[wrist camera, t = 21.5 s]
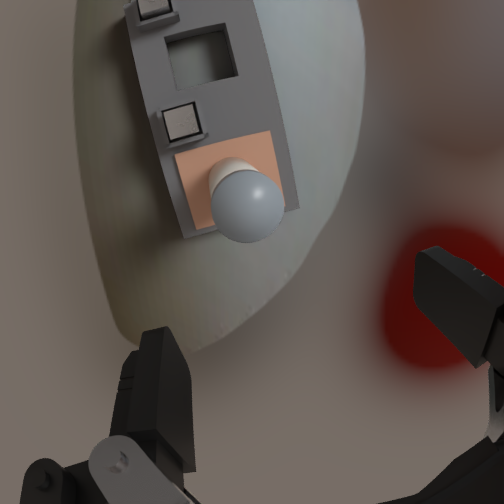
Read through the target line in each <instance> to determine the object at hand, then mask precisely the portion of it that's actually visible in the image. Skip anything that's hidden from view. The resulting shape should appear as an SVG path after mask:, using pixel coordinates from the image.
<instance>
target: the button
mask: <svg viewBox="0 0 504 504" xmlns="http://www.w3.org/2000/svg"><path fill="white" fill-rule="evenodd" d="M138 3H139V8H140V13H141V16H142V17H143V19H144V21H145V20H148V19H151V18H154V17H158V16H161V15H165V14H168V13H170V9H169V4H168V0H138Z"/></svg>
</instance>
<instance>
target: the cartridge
mask: <svg viewBox="0 0 504 504" xmlns="http://www.w3.org/2000/svg"><path fill="white" fill-rule="evenodd" d="M208 181H209V189H210V195H211V213H212V218H213V221H214V223H215V225H216V227H217V228H218V230H219V231H220V232H221V233H222V234H223V235H224V236H226V237H227V238H229V239H231V240H233V241H236V242H241V243H252V242H256V241H260V240H262V239H264V238H266V237H267V236H269V235H270V234H271V233H272V232H273V231H274V230H275V229H276V228H277V227H278V225H279V224H280V222H281V219H282V217H283V213H284V199H283V195H282V193H281V191H280V189H279V187H278V186H277V185H276V184H275V183H274V182H273V181H272V180H271V179H270V178H269V177H267V176H266V175H265V174H263V173H261V172H259V171H258V170H257V169H255V168H254V167H253V166H252V165H250V164H249V163H248V162H247V161H245V160H244V159H241V158H238V157H227V158H224V159H221V160H220V161H218V162H217V163H216V164H215V165H214V166H213V167H212V169H211V171H210V173H209V179H208Z"/></svg>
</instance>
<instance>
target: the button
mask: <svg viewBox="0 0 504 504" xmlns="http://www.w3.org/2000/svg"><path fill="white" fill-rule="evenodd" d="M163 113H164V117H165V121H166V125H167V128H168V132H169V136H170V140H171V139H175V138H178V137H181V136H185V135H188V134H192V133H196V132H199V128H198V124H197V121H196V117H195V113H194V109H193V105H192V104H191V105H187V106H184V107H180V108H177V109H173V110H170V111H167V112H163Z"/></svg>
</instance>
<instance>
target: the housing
mask: <svg viewBox="0 0 504 504" xmlns="http://www.w3.org/2000/svg"><path fill="white" fill-rule="evenodd" d="M131 1H132V3H129V4H126V5H123V6H124V12H125V17H126V22H127V27H128V32H129V37H130V42H131V47H132V51H133V56H134V61H135V65H136V69H137V74H138V78H139V82H140V87H141V91H142V95H143V99H144V103H145V107H146V111H147V115H148V118H149V122H150V126H151V130H152V134H153V137H154V141H155V145H156V148H157V152H158V155H159V159H160V162H161V166H162V169H163V173H164V176H165V180H166V183H167V186H168V190H169V193H170V196H171V199H172V203H173V206H174V209H175V212H176V215H177V219H178V222H179V225H180V228H181V231H182V234H183V237H184V239H186V238H189V237H193V236H197V235H200V234H204V233H207V232H211V231H214V230H218V228H217V227H216V225H215V223H214V221H213V218H212V213H211V195H210V189H209V181H208V179H209V173H210V171H211V169H212V167H213V166H214V165H215V164H216V163H217V162H218V161H220V160H221V159H224V158H227V157H238V158H241V159H244V160H245V161H247V162H248V163H249V164H250V165H252V166H253V167H254V168H255V169H257V170H258V171H259V172H261V173H263V174H265V175H266V176H267V177H269V178H270V179H271V180H272V181H273V182H274V183H275V184H276V185H277V186H278V187H279V189H280V191H281V193H282V195H283V199H284V212H286V211H290V210H294V209H298V208H300V207H299V201H298V196H297V190H296V185H295V179H294V174H293V169H292V163H291V158H290V153H289V148H288V143H287V138H286V134H285V129H284V124H283V119H282V115H281V110H280V106H279V101H278V97H277V92H276V88H275V84H274V79H273V75H272V71H271V67H270V63H269V59H268V55H267V51H266V47H265V43H264V39H263V35H262V31H261V28H260V24H259V20H258V17H257V13H256V9H255V6H254V2H253V0H168V4H169V9H170V13H168V14H165V15H161V16H158V17H154V18H151V19H148V20H145V21H144V19H143V17H142V16H141V13H140V8H139V3H138V0H131ZM220 30H223V31H224V34H225V38H226V42H227V46H228V50H229V54H230V58H231V62H232V66H233V70H234V75H235V77H231V78H226V79H222V80H217V81H213V82H209V83H205V84H200V85H197V86H193V87H189V88H185V89H182V90H177V86H176V82H175V77H174V73H173V69H172V65H171V61H170V57H169V52H168V48H167V44H166V43H169V42H173V41H176V40H180V39H184V38H188V37H192V36H196V35H201V34H205V33H210V32H215V31H220ZM191 104H192V105H193V109H194V113H195V117H196V121H197V124H198V128H199V132H196V133H192V134H188V135H185V136H181V137H178V138H175V139H171V140H170V136H169V132H168V128H167V125H166V121H165V117H164V113H163V112H167V111H170V110H173V109H177V108H180V107H184V106H187V105H191Z"/></svg>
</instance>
